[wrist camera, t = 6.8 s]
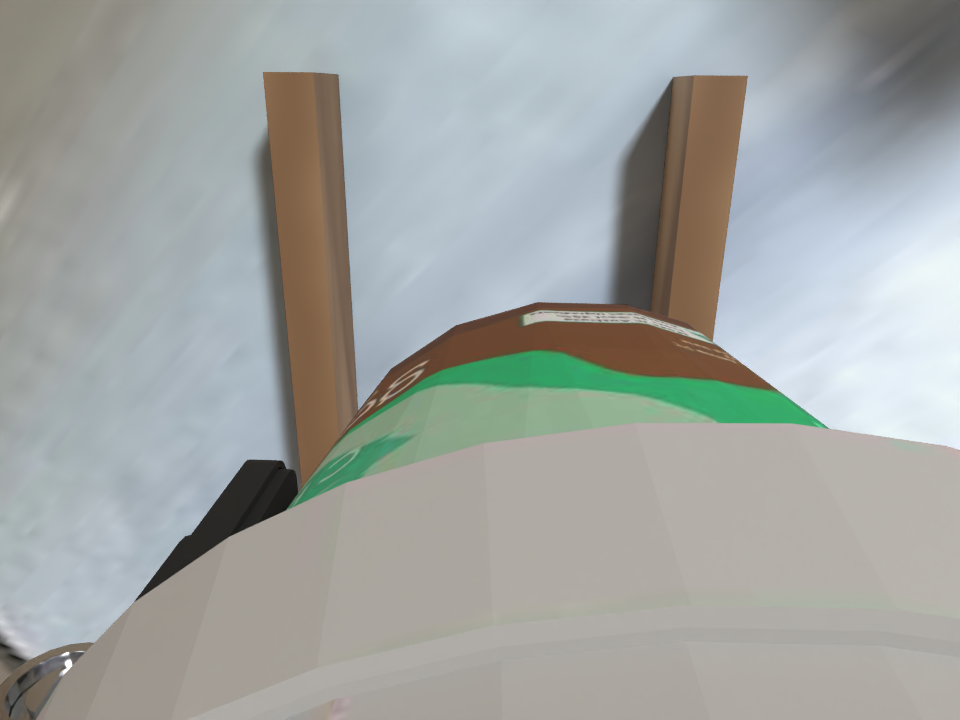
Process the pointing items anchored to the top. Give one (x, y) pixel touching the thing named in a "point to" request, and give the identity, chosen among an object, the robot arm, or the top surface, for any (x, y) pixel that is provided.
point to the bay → (324, 239)
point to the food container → (565, 553)
